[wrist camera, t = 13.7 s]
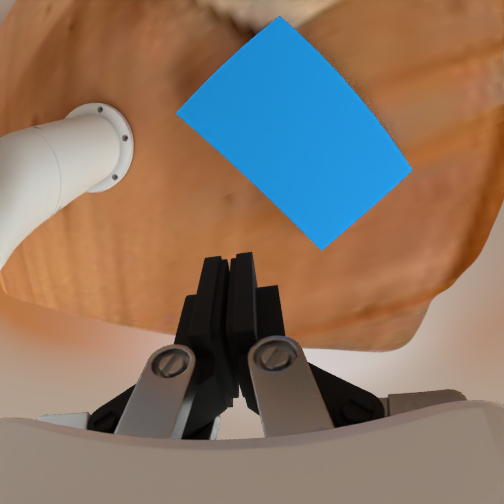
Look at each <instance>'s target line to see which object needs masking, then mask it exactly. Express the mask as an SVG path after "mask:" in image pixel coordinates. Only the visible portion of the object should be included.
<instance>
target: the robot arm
mask: <svg viewBox="0 0 504 504" xmlns="http://www.w3.org/2000/svg"><path fill="white" fill-rule="evenodd" d="M102 108H103V111H102ZM126 136H128V139H126ZM133 152H134V140H133V134H132V131H131V128H130V125H129V124H128V122H127V120H126V118H125V117H124V116H123V115H122V114H121V113H120V112H119V111H118V110H117V109H115V108H114V107H112V106H110V105H107V104H103V103H89V104H84V105H81V106H79V107H77V108H75V109H74V110H72V111H71V112H70V113H69V114H68V115H67V116H66V117H65V119H63V120H58V121H53V122H49V123H45V124H41V125H37V126H33V127H29V128H25V129H21V130H17V131H14V132H11V133H8V134H6V135H4V136H2V137H0V271H1V269H2V267H3V266H4V264H5V263H6V261H7V259H8V258H9V256H10V255H11V254H12V252H13V251H14V250H15V248H16V247H17V246H18V245H19V244H20V243H21V242H22V241H23V240H24V239H25V238H26V237H27V236H28V235H29V234H30V233H31V232H32V231H33V230H35V229H36V228H37V227H38V226H39V225H41V224H42V223H43V222H44V221H46V220H47V219H48V218H50V217H51V216H52V215H54V214H55V213H56V212H58V211H59V210H60V209H62V208H63V207H64V206H66V205H67V204H68V203H70V202H71V201H73V200H74V199H75V198H77V197H78V196H80V195H81V194H83V193H84V192H92V193H95V192H102V191H105V190H107V189H109V188H111V187H112V186H114V185H115V184H117V183H118V182H119V181H120V180H121V179H122V178H123V177H124V176H125V174H126V172H127V171H128V169H129V167H130V164H131V162H132V158H133ZM116 175H117V176H118V177H116ZM239 385H240V388H241V392H242V395H243V397H245V399H246V403H247V406H248V408H249V409H251V410H252V411H254V412H255V413H257V414H258V415H260V418H261V422H262V426H263V431H264V435H265V438H252V439H234V440H216V438H217V433H218V429H219V425H220V414H221V413H222V412H224V411H225V410H226V409H227V407H233V398H238V397H239ZM0 504H504V404H501V403H498V402H493V401H484V400H467V399H466V397H465V396H464V395H463V394H462V393H461V392H458V391H456V390H450V389H447V390H437V391H428V392H417V393H403V394H389V395H388V397H387V398H378V397H376V396H375V395H373V394H372V393H370V392H368V391H365V390H363V389H361V388H359V387H357V386H355V385H353V384H351V383H349V382H347V381H345V380H343V379H340V378H338V377H336V376H334V375H332V374H330V373H328V372H326V371H324V370H322V369H320V368H318V367H316V366H314V365H313V364H311V363H309V362H307V360H306V357H305V355H304V352H303V350H302V348H301V346H300V345H299V343H298V342H296V341H295V340H293V339H292V338H289V337H286V336H285V330H284V323H283V317H282V310H281V303H280V297H279V290H278V285H275V286H267V287H259V288H258V287H257V280H256V274H255V267H254V261H253V255H252V252H248V253H240V254H237V255H236V258H232V259H231V265H230V271H229V266H228V261H227V259H224V260H222V258H221V256H216V257H208V258H205V260H204V264H203V268H202V272H201V277H200V281H199V285H198V290H197V294H196V295H188V296H186V298H185V302H184V306H183V310H182V313H181V317H180V321H179V325H178V329H177V333H176V337H175V341H174V344H173V345H168V346H164V347H162V348H160V349H158V350H157V351H155V352H154V353H153V354H152V355H151V356H150V358H149V359H148V361H147V363H146V365H145V367H144V369H143V371H142V373H141V376H140V378H139V380H138V382H137V384H135V385H134V386H132V387H130V388H129V389H127V390H126V391H125V392H123V393H121V394H120V395H118V396H117V397H115V398H114V399H112V400H111V401H109V402H108V403H106V404H105V405H103V406H101V407H100V408H99V409H97V410H96V411H95V412H94V413H93V414H92V415H90V414H89V412H83V413H71V414H54V415H44V416H40V417H39V418H37V419H36V420H33V419H26V418H1V419H0Z"/></svg>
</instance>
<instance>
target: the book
mask: <svg viewBox="0 0 504 504" xmlns="http://www.w3.org/2000/svg"><path fill="white" fill-rule="evenodd" d="M176 114H177V115H178V116H179V117H180V118H181V119H183V120H184V121H185V122H186V123H187V124H188V125H189V126H191V127H192V128H193V129H194V130H195V131H196V132H197V133H199V134H200V135H201V136H202V137H203V138H204V139H205V140H206V141H207V142H209V143H210V144H211V145H212V146H213V147H214V148H215V149H216V150H217V151H219V152H220V153H221V154H222V155H223V156H224V157H225V158H226V159H227V160H228V161H230V162H231V163H232V164H233V165H234V166H235V167H236V168H237V169H238V170H239V171H240V172H241V173H242V174H244V175H245V176H246V177H247V178H248V179H249V180H250V181H251V182H252V183H253V184H254V185H255V186H256V187H257V188H258V189H259V190H260V191H262V192H263V193H264V194H265V195H266V196H267V197H268V198H269V199H270V200H271V201H272V202H273V203H274V204H275V205H276V206H277V207H278V208H279V209H280V210H281V211H282V212H283V213H284V214H285V215H286V216H287V217H288V218H289V219H290V220H291V221H292V222H293V223H294V224H295V225H296V226H297V227H298V228H299V229H300V230H301V231H302V232H303V233H304V234H305V235H306V236H307V237H308V238H309V239H310V240H311V241H312V242H313V243H314V244H315V245H316V246H317V247H318V248H319V249H320V250H321V251H322V250H323V249H324V248H325V247H326V246H328V245H329V244H330V243H331V242H332V241H333V240H335V239H336V238H337V237H338V236H339V235H340V234H342V233H343V232H344V231H345V230H346V229H347V228H349V227H350V226H351V225H352V224H353V223H354V222H356V221H357V220H358V219H359V218H360V217H361V216H362V215H364V214H365V213H366V212H367V211H368V210H369V209H370V208H371V207H373V206H374V205H375V204H376V203H377V202H378V201H379V200H380V199H382V198H383V197H384V196H385V195H386V194H387V193H388V192H389V191H391V190H392V189H393V188H394V187H395V186H396V185H397V184H398V183H399V182H400V181H402V180H403V179H404V178H405V177H406V176H407V175H408V174H409V173H410V172H411V171H412V168H411V167H410V165H409V163H408V162H407V160H406V159H405V157H404V156H403V154H402V153H401V152H400V150H399V149H398V147H397V146H396V144H395V143H394V141H393V140H392V139H391V137H390V136H389V135H388V133H387V132H386V130H385V129H384V128H383V126H382V125H381V124H380V122H379V121H378V120H377V118H376V117H375V116H374V115H373V113H372V112H371V111H370V110H369V108H368V107H367V106H366V105H365V103H364V102H363V101H362V100H361V98H360V97H359V96H358V95H357V94H356V92H355V91H354V90H353V89H352V88H351V87H350V85H349V84H348V83H347V82H346V81H345V80H344V79H343V78H342V76H341V75H340V74H339V73H338V72H337V71H336V70H335V69H334V68H333V67H332V66H331V65H330V63H329V62H328V61H327V60H326V59H325V58H324V57H323V56H322V55H321V54H320V53H319V52H318V51H317V50H316V49H315V48H314V47H313V46H312V45H311V44H310V43H309V42H308V41H307V40H306V39H305V38H304V37H303V36H301V35H300V34H299V33H298V32H297V31H296V30H295V29H294V28H293V27H292V26H291V25H289V24H288V23H287V22H286V21H285V20H284V19H283V18H281V17H280V16H279V17H278V18H277V19H275V20H274V21H273V22H272V23H270V24H269V25H268V26H267V27H265V28H264V29H263V30H262V31H260V32H259V33H258V34H257V35H256V36H255V37H253V38H252V39H251V40H250V41H249V42H248V43H246V44H245V45H244V46H243V47H242V48H241V49H240V50H238V51H237V52H236V53H235V54H234V55H233V56H232V57H231V58H230V59H229V60H228V61H227V62H225V63H224V64H223V65H222V66H221V67H220V68H219V69H218V70H217V71H216V72H215V73H214V74H213V75H212V76H211V77H210V78H209V79H208V80H207V81H206V82H205V83H204V84H203V85H202V86H201V87H200V88H199V89H198V90H197V91H196V92H195V93H194V94H193V95H192V96H191V97H190V98H189V100H188V101H187V102H186V103H185V104H184V105H183V106H182V107H181V108H180V109H179V110H178V112H177V113H176Z"/></svg>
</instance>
